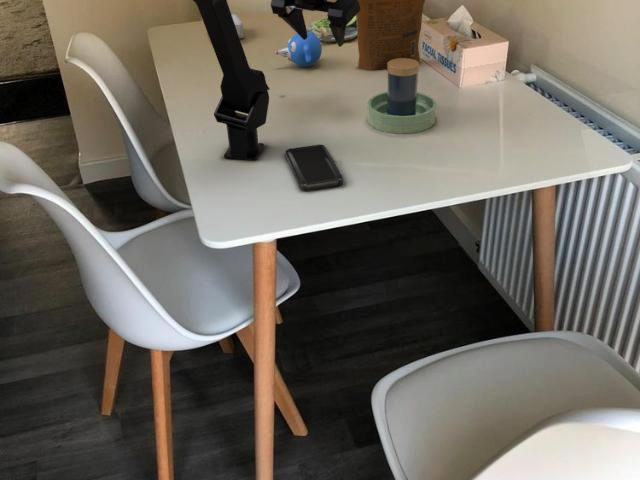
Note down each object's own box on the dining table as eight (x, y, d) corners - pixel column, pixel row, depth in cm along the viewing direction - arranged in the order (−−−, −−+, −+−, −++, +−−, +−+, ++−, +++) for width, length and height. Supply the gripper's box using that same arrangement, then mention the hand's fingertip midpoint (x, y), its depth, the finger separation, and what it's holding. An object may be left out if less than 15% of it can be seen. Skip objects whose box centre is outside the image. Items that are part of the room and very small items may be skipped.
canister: (414, 126, 137) (417, 69, 130) (384, 124, 138) (385, 68, 131) (417, 114, 142) (420, 58, 135) (388, 112, 143) (389, 57, 136)
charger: (215, 48, 185) (207, 33, 197) (248, 44, 187) (238, 29, 199) (213, 31, 182) (205, 16, 194) (246, 27, 184) (237, 13, 196)
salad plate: (346, 49, 180) (346, 32, 178) (289, 41, 187) (288, 25, 185) (375, 29, 194) (376, 13, 192) (321, 23, 202) (320, 7, 199)
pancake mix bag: (431, 66, 167) (438, -54, 152) (357, 74, 164) (356, -48, 149) (422, 58, 173) (428, -59, 157) (350, 65, 170) (349, -53, 154)
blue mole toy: (271, 61, 174) (268, 29, 170) (315, 56, 177) (314, 24, 172) (281, 77, 165) (279, 43, 160) (327, 71, 167) (326, 37, 162)
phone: (301, 186, 116) (284, 149, 129) (301, 191, 117) (284, 154, 129) (344, 179, 118) (324, 143, 130) (344, 185, 118) (324, 148, 131)
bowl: (432, 138, 133) (433, 118, 131) (362, 134, 136) (362, 114, 134) (437, 110, 145) (438, 92, 142) (372, 107, 147) (373, 89, 145)
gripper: (368, -45, 128) (380, 27, 140) (291, -53, 138) (308, 14, 149) (337, -13, 123) (352, 58, 135) (259, -24, 133) (280, 43, 144)
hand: (323, 42), depth 141 cm, fingers open, 9 cm apart
